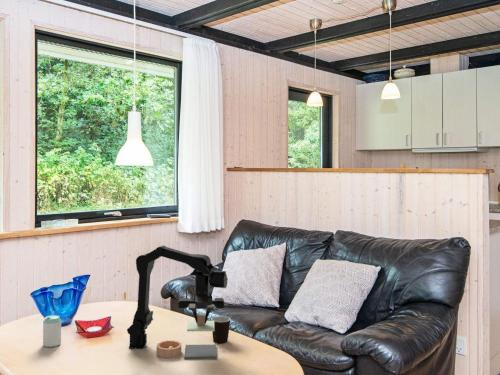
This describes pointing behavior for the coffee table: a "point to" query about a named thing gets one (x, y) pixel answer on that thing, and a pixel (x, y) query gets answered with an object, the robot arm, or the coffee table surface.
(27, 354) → the coffee table surface
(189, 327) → the lid
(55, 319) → the can
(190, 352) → the mat
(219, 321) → the coffee mug
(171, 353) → the bowl
